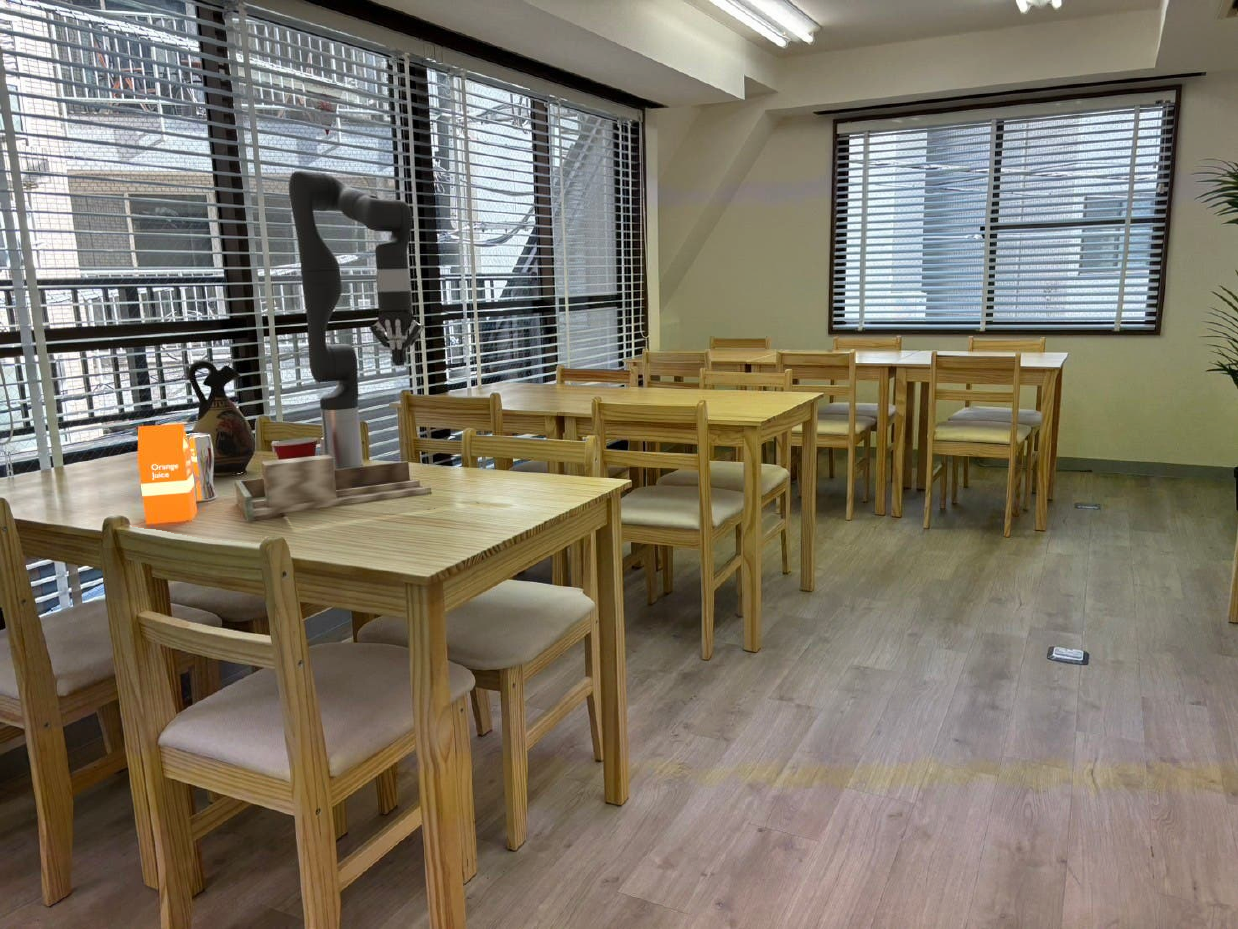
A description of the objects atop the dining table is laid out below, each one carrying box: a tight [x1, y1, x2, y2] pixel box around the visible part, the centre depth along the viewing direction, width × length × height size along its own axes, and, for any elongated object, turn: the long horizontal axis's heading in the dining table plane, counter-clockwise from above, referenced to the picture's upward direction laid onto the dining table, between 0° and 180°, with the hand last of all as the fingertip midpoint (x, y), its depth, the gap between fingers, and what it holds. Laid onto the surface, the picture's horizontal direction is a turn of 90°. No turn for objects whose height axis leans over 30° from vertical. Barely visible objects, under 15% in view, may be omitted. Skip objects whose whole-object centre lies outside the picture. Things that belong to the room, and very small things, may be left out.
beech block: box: [261, 455, 337, 508], centre depth 198 cm, size 14×5×10 cm, turn 119°
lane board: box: [234, 460, 432, 522], centre depth 206 cm, size 39×19×5 cm, turn 118°
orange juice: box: [136, 423, 198, 525], centre depth 192 cm, size 8×9×20 cm
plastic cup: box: [270, 437, 319, 460], centre depth 219 cm, size 11×11×12 cm
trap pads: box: [352, 482, 389, 488], centre depth 211 cm, size 20×7×1 cm, turn 118°
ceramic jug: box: [187, 360, 256, 477], centre depth 238 cm, size 17×15×30 cm
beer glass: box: [186, 433, 218, 503], centre depth 209 cm, size 7×7×15 cm
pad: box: [252, 497, 266, 501], centre depth 203 cm, size 8×7×1 cm
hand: (399, 365), depth 212 cm, fingers closed
